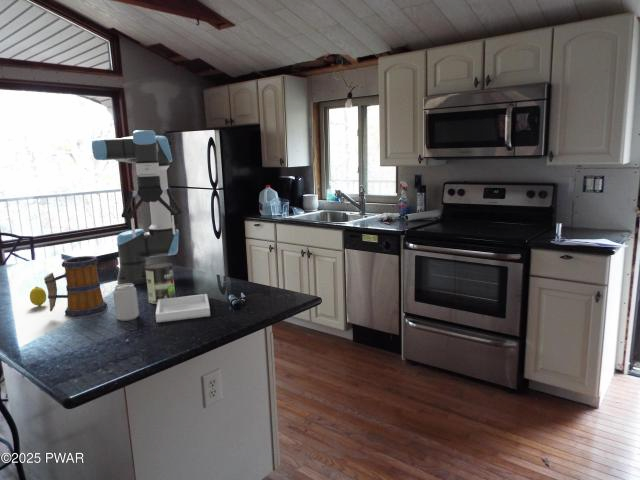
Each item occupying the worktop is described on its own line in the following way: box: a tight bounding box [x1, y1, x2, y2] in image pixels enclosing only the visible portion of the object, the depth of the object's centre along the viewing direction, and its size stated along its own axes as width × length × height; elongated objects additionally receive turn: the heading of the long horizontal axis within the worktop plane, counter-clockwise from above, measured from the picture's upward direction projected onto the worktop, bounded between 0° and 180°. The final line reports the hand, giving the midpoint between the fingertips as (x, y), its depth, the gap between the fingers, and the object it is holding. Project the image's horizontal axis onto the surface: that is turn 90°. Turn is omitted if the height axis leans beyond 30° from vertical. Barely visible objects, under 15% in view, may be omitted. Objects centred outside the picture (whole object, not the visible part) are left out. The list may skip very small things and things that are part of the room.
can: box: [112, 283, 140, 322], centre depth 169 cm, size 8×8×12 cm
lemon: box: [29, 286, 47, 307], centre depth 186 cm, size 6×6×8 cm
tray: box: [155, 293, 211, 324], centre depth 174 cm, size 18×18×3 cm
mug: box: [43, 255, 109, 319], centre depth 175 cm, size 19×14×20 cm
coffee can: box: [145, 262, 176, 305], centre depth 188 cm, size 10×10×14 cm
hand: (154, 235), depth 172 cm, fingers open, 13 cm apart
